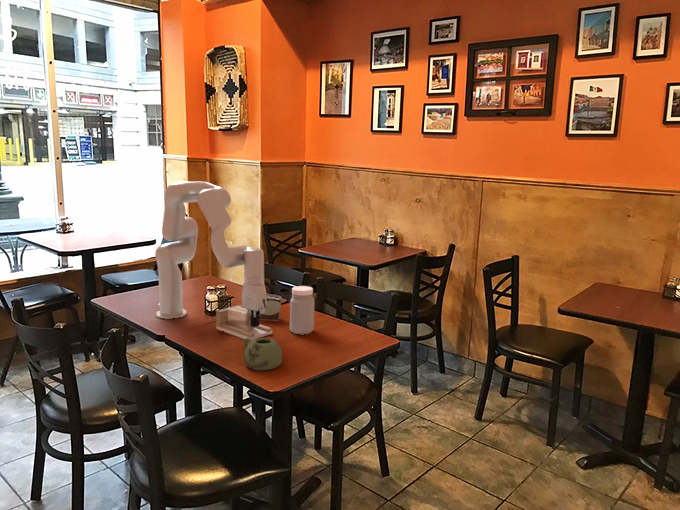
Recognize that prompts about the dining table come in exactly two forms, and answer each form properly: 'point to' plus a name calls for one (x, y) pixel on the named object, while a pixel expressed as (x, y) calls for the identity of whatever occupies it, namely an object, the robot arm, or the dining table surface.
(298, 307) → the jar
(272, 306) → the food container
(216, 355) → the dining table surface
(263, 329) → the floor frame
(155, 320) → the dining table surface
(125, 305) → the dining table surface
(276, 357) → the green rounded hollow pot
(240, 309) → the beige rectangular block
